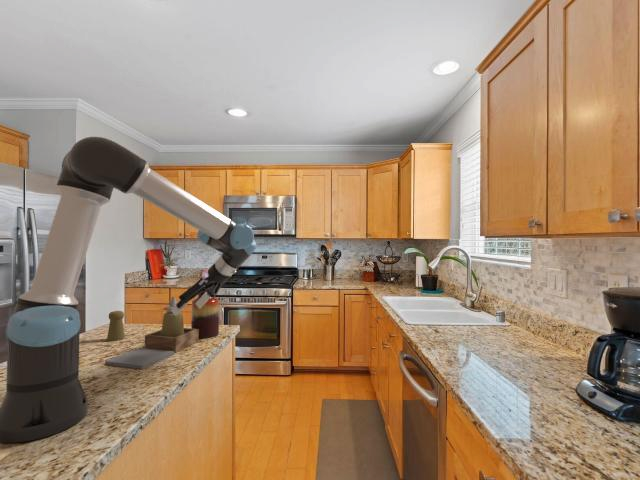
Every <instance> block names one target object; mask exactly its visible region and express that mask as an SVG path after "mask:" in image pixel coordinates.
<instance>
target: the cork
mask: <svg viewBox="0 0 640 480" xmlns="http://www.w3.org/2000/svg"><path fill="white" fill-rule="evenodd" d="M124 317H125V313H124V312H123V311H122V310H113V311H111V312H110V313H109V314H108V319H109V324H108V325H109V326H108V332H107V337H106V342H119V341H123V340H125V339H126V336H125V330H124V329H125V328H124V323H123V321H124V320H123V319H124ZM124 338H125V339H124ZM122 339H123V340H122ZM118 340H119V341H118Z"/></svg>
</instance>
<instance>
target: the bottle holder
mask: <svg viewBox="0 0 640 480" xmlns="http://www.w3.org/2000/svg"><path fill="white" fill-rule="evenodd" d="M161 332H162V329H160V330H155V331H154V332H151V333H148V334H145V335H144V348H147V349H157V350H166V351H174V354H175V353H178V352H180V351H182V350H184V349H186V348H189V347H192V346H193V345H196V344H198V343H199V342H200V341H199V340H200V339H199V329H191V328H190V327H189V328H188V327H184V334H183V335H180V336H178V337H167V336H161Z"/></svg>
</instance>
